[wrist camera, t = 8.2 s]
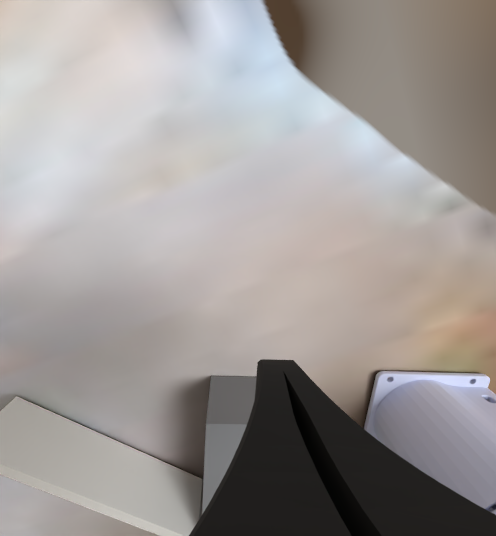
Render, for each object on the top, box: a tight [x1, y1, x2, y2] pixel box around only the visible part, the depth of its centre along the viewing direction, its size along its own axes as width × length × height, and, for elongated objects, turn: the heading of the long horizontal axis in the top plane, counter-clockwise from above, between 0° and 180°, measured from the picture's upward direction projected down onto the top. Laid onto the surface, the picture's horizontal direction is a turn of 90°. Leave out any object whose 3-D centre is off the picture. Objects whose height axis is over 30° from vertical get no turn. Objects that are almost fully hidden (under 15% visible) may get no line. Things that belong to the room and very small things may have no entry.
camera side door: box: [0, 396, 204, 536], centre depth 19 cm, size 1×16×4 cm, turn 55°
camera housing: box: [202, 376, 257, 514], centre depth 20 cm, size 7×11×4 cm, turn 176°
